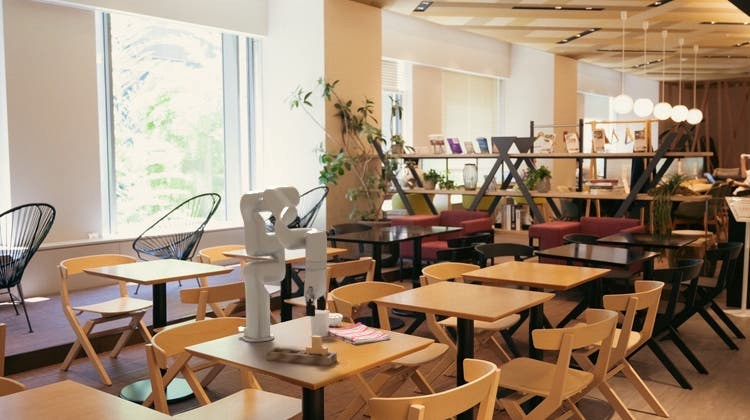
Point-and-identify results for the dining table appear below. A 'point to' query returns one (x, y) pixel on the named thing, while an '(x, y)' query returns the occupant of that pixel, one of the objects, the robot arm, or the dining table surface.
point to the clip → (317, 347)
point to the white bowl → (334, 319)
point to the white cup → (320, 323)
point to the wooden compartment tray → (300, 357)
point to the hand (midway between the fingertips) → (316, 313)
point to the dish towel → (358, 334)
